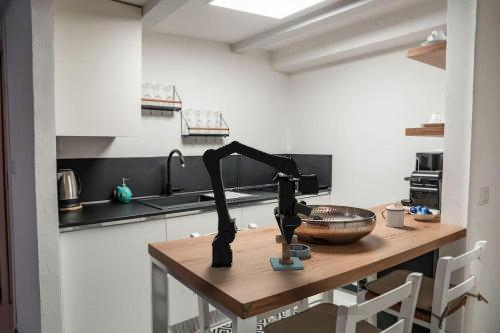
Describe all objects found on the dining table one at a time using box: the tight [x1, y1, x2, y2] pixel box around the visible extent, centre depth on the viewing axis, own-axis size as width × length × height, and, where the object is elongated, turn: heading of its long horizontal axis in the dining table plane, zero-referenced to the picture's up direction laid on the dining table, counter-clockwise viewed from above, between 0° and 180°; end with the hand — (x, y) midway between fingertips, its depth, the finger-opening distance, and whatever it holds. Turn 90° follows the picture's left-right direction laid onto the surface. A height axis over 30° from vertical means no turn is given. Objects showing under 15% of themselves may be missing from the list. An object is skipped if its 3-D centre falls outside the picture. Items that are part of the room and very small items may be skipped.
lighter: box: [310, 213, 324, 221], centre depth 156 cm, size 8×3×10 cm, turn 47°
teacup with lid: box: [380, 202, 406, 228], centre depth 179 cm, size 12×9×12 cm
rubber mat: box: [269, 257, 305, 271], centre depth 121 cm, size 10×10×1 cm
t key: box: [275, 234, 299, 265], centre depth 121 cm, size 7×5×9 cm
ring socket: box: [290, 243, 311, 259], centre depth 132 cm, size 10×10×2 cm
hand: (286, 240), depth 120 cm, fingers open, 9 cm apart
